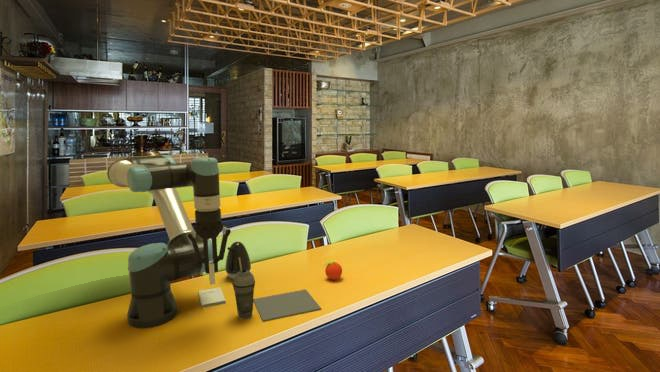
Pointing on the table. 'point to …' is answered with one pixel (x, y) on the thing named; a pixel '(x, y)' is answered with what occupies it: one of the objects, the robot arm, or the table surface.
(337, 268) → the clementine
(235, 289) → the beverage cup
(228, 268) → the black tapered dome
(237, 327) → the table surface
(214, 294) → the external hard drive
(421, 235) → the table surface
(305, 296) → the mat
